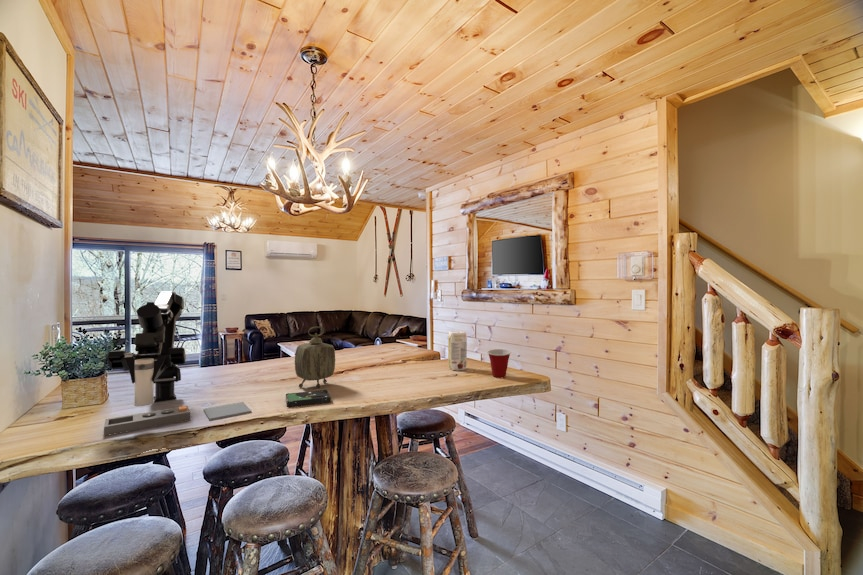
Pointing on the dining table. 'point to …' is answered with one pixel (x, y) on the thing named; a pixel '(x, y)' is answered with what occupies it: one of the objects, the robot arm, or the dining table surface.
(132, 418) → the power strip
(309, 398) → the disk drive
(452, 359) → the juice carton
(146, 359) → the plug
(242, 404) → the mat
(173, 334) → the robot arm
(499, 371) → the plastic cup
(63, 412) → the dining table surface
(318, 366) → the tabletop clock
